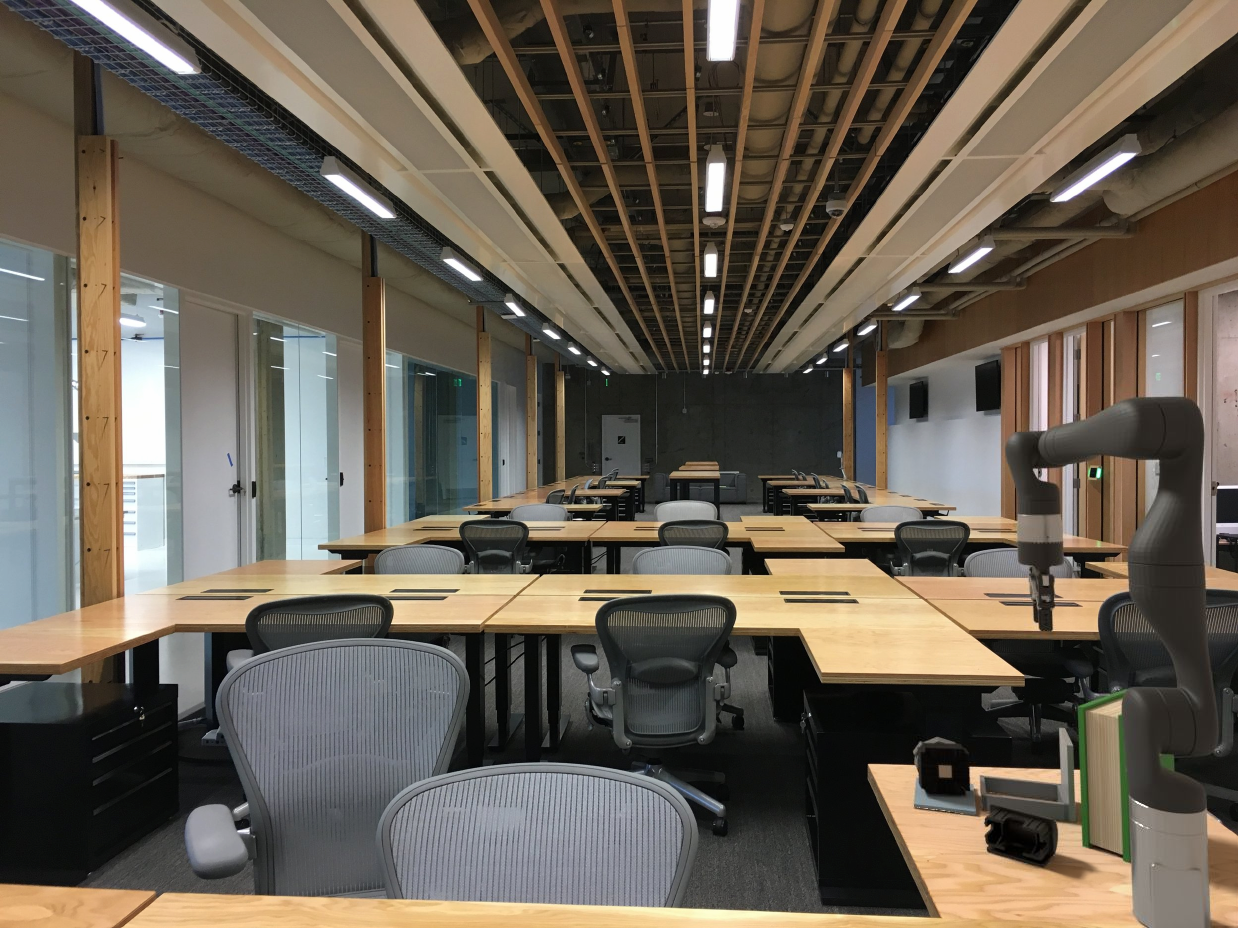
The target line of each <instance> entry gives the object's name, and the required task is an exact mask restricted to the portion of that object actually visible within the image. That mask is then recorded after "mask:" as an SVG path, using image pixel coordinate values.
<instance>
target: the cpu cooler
mask: <svg viewBox="0 0 1238 928" xmlns="http://www.w3.org/2000/svg"><path fill="white" fill-rule="evenodd" d="M912 752H913V755H914V766H915V768H916V770H917V773H918V774H917V775H918V777H917V778H919V779H918V780H919V785H920V787H921V789H924V790H925V792H926V794H927V793H929V794H931V793H932V794H934V793H936V794H939V795H940V793H941V794H946V795H948V794H950V795H951V794H952V795H953V794H955V795H956V794H957V795H961V794H962V795H964V796H966V792H965V791H970V784H971V776H970V775H971V774H970V771H971V769H970V767H971V766H970V753H969V751H968V750H967V748H966V747H965V748H964V747H963V746H962V744H961V743H958V742H957V743H956V742H955V741H952V740H948V739H945V738H942V737H939V736H936V737H934V738H931V739H928V740H926V741H920V740H919V742H918V744H917V745H916V746H915V748H914V749H913V751H912ZM964 789H965V790H964Z"/></svg>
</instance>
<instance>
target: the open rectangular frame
mask: <svg viewBox="0 0 1238 928" xmlns="http://www.w3.org/2000/svg"><path fill="white" fill-rule="evenodd" d="M1058 731H1059V733H1058V734H1059V758H1060V759H1059V761H1060V783H1056V782H1055V783H1054V782H1048V781H1047V782H1045V781H1037V780H1027V779H1021V778H1020V779H1019V778H1010V777H1009V778H1008V777H1000V776H991V775H981V774H979V792H980V793H979V794H980V802H981V810H982V812H987V811H989V813H990V805H991V804H997V805H1001V806H1005V807H1009V808H1012V809H1016V810H1020V811H1024V812H1028V813H1032V814H1036V815H1040V816H1044V817H1048V818H1052V819H1054V820H1055V821H1062V822H1071V823H1076V822H1077V821H1076V819H1077V818H1076V817H1077V816H1076V797H1075V795H1076V792H1075V787H1076V786H1075V762H1074V761H1075V760H1074V758H1075V757H1074V744H1073V743H1072V739H1071V738H1070V735H1069V734H1068V732H1067V729H1066V728H1065V727H1059V730H1058ZM989 792H992V793H991V794H989ZM987 793H988V794H987ZM998 793H999V794H1000V795H996V794H998ZM1005 795H1008V796H1005ZM1014 796H1016V797H1014ZM1017 796H1018V797H1017ZM1026 797H1027V798H1026ZM1031 798H1034V799H1031ZM1041 799H1042V800H1041ZM1052 800H1053V801H1052Z"/></svg>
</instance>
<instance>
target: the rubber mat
mask: <svg viewBox="0 0 1238 928" xmlns="http://www.w3.org/2000/svg"><path fill="white" fill-rule="evenodd" d="M918 779H919V777H916V778H915V788H914V795H913V797H914V799H913V808H914V807H918V808H919V807H920V808H928V809H935V810H936V809H937V810H945V811H950V812H956V813H955V814H958V813H963V814H962V815H966V814H971V815H970V816H974V815H976V816H977V808H976V797H975V785H974V783H970V791H965V792H966V796H964V795H962V794H961V795H957V794H956V795H955V794H953V795H952V794H951V795H950V794H948V795H946V794H941V793H940V795H939V794H936V793H934V794H932V793H931V794H929V793H927V794H926V792H925V790H924V789H921V787H920V785H919V780H918ZM964 790H965V789H964ZM918 808H917V809H918ZM950 812H949V813H950Z"/></svg>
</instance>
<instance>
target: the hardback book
mask: <svg viewBox="0 0 1238 928" xmlns="http://www.w3.org/2000/svg"><path fill="white" fill-rule="evenodd" d="M1127 689H1128V688H1126V689H1122V690H1120V691H1117V692H1114V693H1111V694H1108V695H1106V696H1103V697H1100V698H1097V699H1094V700H1091V701H1089V702H1086V703H1083V704H1081V705H1078V706H1077V717H1078V718H1077V721H1078V725H1077V726H1078V751H1079V752H1078V755H1079V781H1080V782H1079V784H1080V785H1079V786H1080V807H1081V808H1080V810H1081V838H1082V839H1081V840H1082V842H1081V843H1082V847H1084V848H1086V849H1089V848H1091V847H1093V846H1097V847H1099V848H1102V849H1105V850H1108V851H1111V852H1114V853H1117V854H1119V855H1122V861H1123V862H1125V863H1128V864H1130V863H1131V846H1130V817H1129V814H1130V813H1129V785H1128V777H1127V771H1126V758H1125V744H1124V734H1123V725H1122V699H1123V696H1124V693H1125V692H1126V690H1127ZM1160 762H1161V766H1163V767H1165V768H1167V769H1169V770H1172V771H1175V755H1169V754H1160ZM1175 772H1176V771H1175Z"/></svg>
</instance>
